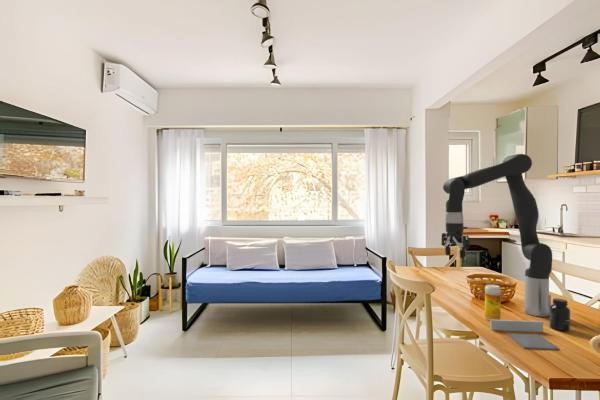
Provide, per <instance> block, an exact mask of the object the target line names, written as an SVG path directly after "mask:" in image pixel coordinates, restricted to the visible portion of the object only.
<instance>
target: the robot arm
mask: <svg viewBox="0 0 600 400" xmlns="http://www.w3.org/2000/svg"><path fill="white" fill-rule="evenodd" d="M532 164H533V160H532V158H531V157H530V156H529V155H527V154H524V153H518V154H511V155H507V156H506V157H505V158H504V159H503V161H502V162H501V163H499V164H498V163H497V164H495V165H492V166H487V167H485V168H481V169H477V170H474V171H471V172H468V173H466V174H464V175H461V176H457V177H453V178H449V179H447V180H446V181H445V182H444V183H443V185H442V189H443V191H444V193H446V194H448V195H449V196H448V200H446V202H445V232H442V233H441V246H443V247H444V249H445V250H444V253H445V255H446V256H451V245H453V244H454V245H456V246H457V247H458V248H459V258H460V259H465V257H466V250H468V249H470V237H469V235H463V233H464V214H463V201H464V197H465V190H468V189H474V188H477V187H481V186H482V185H486V184H488V183H491V182H493V181H495V180H498V179H501V178H505V179H506V180H505V181H506V182H507V186H508V189H509V192H510V197H511V201H512V202H511V203H512V206H513V211H514V216H515V218H516V223H517V226H518V230H519V231H518V232H519V235H520V243H521V244H520V245H521V252H522V255H523V256H524V258H525V259H526V260H528V261H529V267H528V268H526V269H525V271H524V274H525V275H524V312H525V313H526V314H528V315H531V316H534V317H540V318H541V317H542V318H543V317H544V318H545V317H550V306H551V305H552V295H551V294H550V274H551V272H552V266H553V264H552V263H553V251H552V249H551V247H550V246H549V245H548V244H546V243H541V242H540V240H539V236H538V232H537V224H538V221H539V213H540V212H539V208H538V204H537V201H536V198H535V197H534V194H532V192H531V191H530V189H529V188H528V187H527V186H526V184H525V180H524V177H523V174H524V173H527V172H528V171H529V170H530V169H532V166H533V165H532Z"/></svg>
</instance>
